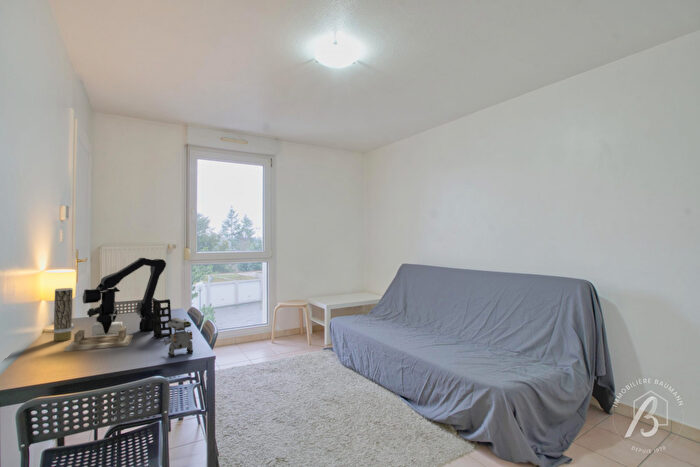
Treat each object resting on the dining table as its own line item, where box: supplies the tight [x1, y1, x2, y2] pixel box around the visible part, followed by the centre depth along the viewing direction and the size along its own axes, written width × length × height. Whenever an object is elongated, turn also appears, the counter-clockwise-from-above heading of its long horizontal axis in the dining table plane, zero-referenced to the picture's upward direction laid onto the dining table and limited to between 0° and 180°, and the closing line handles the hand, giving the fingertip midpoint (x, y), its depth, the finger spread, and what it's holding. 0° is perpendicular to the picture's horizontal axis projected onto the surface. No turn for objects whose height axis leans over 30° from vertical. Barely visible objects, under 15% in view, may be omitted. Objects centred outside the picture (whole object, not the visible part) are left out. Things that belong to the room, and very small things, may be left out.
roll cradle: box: [64, 326, 134, 352], centre depth 168 cm, size 24×14×6 cm, turn 114°
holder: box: [152, 297, 173, 339], centre depth 181 cm, size 11×8×20 cm
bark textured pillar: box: [53, 287, 73, 342], centre depth 175 cm, size 7×7×25 cm
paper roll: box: [91, 321, 123, 337], centre depth 181 cm, size 12×6×6 cm, turn 114°
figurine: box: [163, 317, 194, 358], centre depth 156 cm, size 9×12×15 cm
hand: (107, 331), depth 181 cm, fingers closed on paper roll, 6 cm apart
